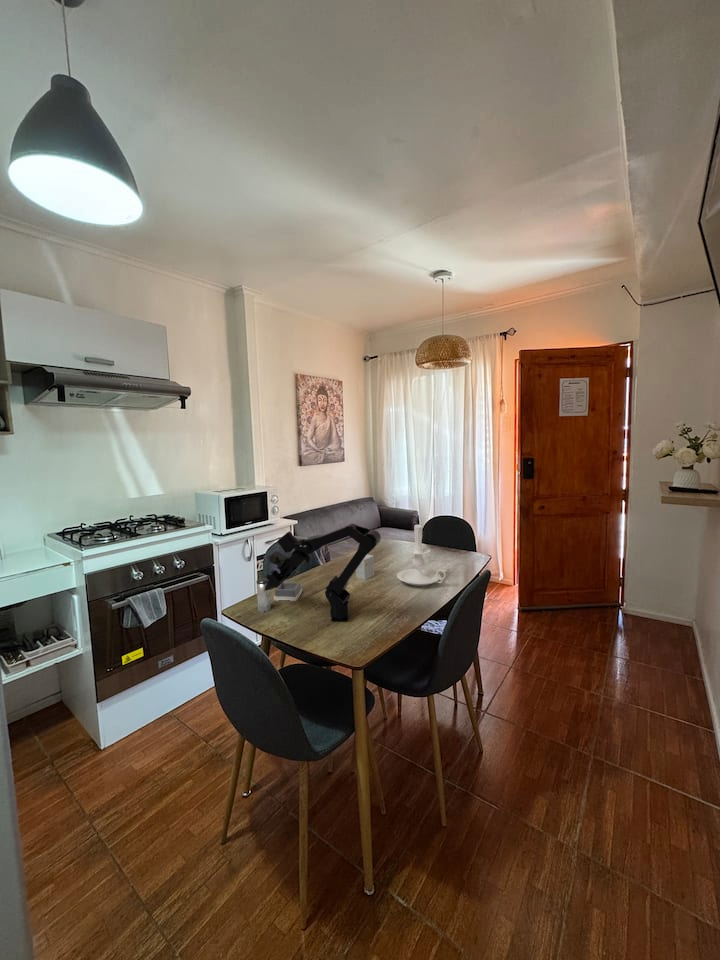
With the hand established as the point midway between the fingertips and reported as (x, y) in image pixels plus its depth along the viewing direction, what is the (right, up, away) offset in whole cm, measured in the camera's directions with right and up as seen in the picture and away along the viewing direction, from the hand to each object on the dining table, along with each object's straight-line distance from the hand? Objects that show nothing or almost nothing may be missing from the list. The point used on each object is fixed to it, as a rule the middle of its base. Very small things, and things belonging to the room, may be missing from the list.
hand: (271, 585), depth 164 cm
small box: (+39, -6, +36) cm, 54 cm away
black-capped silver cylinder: (-3, -11, +2) cm, 11 cm away
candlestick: (+66, -6, +26) cm, 71 cm away
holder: (+4, -9, +15) cm, 18 cm away
